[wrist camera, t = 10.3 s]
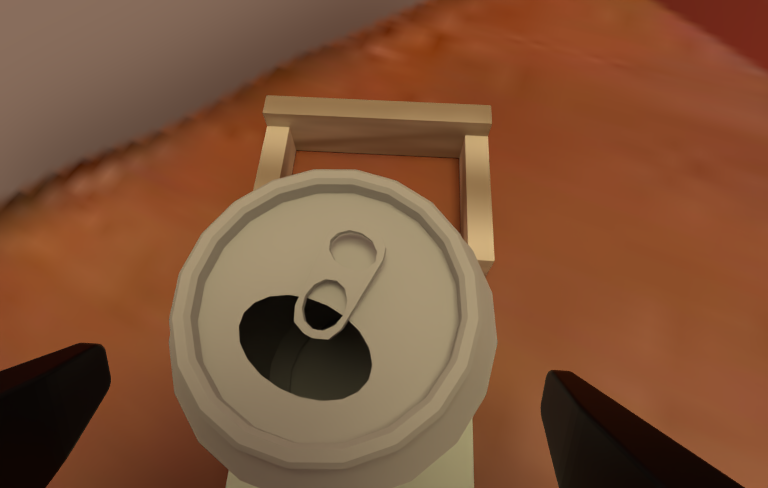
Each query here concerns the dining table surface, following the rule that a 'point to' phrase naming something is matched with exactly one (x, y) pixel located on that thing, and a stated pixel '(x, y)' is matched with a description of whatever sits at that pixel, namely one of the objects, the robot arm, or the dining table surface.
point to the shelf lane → (389, 145)
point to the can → (331, 333)
